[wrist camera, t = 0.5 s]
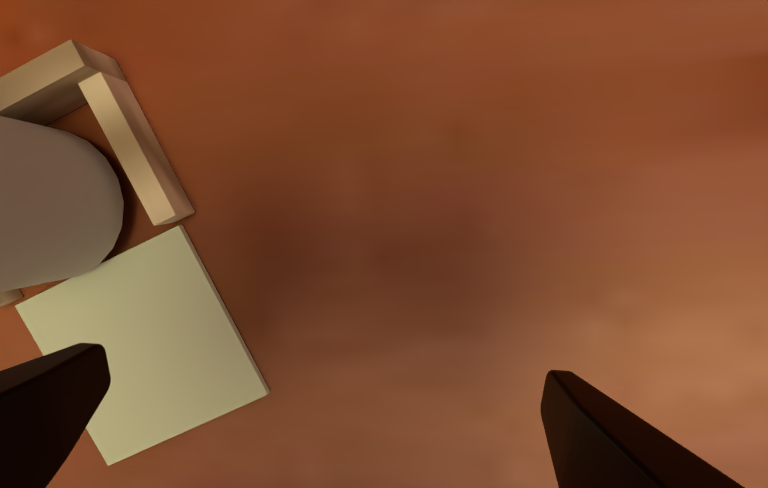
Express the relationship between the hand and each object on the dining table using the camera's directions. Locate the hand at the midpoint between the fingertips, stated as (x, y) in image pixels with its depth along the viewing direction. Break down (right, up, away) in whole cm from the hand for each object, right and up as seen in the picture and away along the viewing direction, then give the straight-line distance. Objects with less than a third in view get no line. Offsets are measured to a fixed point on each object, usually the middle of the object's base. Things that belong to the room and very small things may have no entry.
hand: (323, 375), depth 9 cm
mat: (-12, -3, +15) cm, 19 cm away
